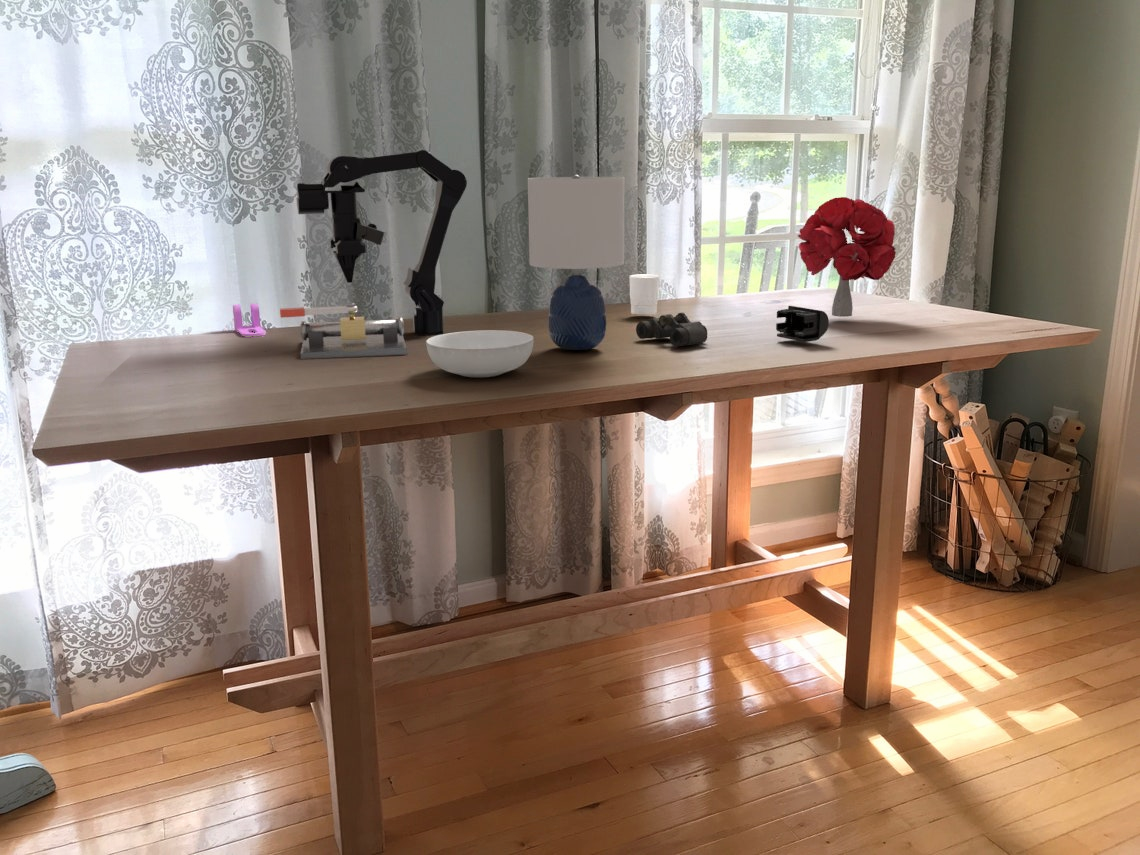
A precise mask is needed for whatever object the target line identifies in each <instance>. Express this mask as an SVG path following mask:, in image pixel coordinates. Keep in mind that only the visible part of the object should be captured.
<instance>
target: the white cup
mask: <svg viewBox="0 0 1140 855" xmlns="http://www.w3.org/2000/svg"><path fill="white" fill-rule="evenodd" d="M628 278H629V298H630V313H631V314H632V315H634V314H637V315H636V316H652V314H654V315H656V314H657V313H658V312H657V309H658V305H657V304H658V300H659V287H660V286H659V284H660V283H659V282H660V275H658V274H650V273H647V274H646V273H645V274H644V273H641V274H632V275H631V274H630V275H629V277H628Z"/></svg>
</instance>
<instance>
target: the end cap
mask: <svg viewBox="0 0 1140 855" xmlns="http://www.w3.org/2000/svg"><path fill="white" fill-rule="evenodd" d="M782 318H785V321H784V322H777V323H776V324H775V329H776V332H778V333H776V337H778V338H783V339H788V340H792V341H797V342H802V343H808V342H809V343H810V342H815V341H818V340H819V339H821V338H822V337H823V336H824V335H825V334H826V333H827V331H828V328H829V323H830V320H829V316H828V314H827V313H826V312H825V311H823V310H819V309H814V308H813V309H812V308H807V307H801V306H796V305H788V306H787V308H785V309H780V310H777V312H776V319H782Z"/></svg>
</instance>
